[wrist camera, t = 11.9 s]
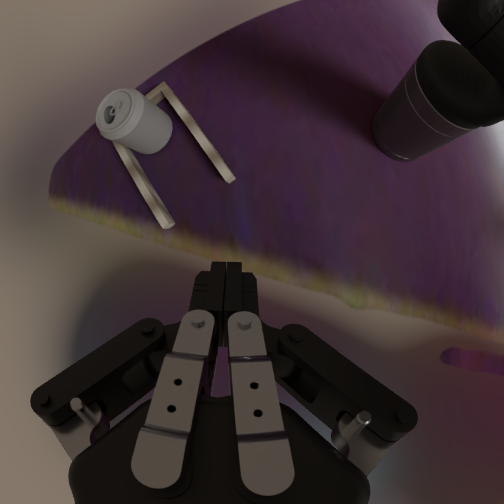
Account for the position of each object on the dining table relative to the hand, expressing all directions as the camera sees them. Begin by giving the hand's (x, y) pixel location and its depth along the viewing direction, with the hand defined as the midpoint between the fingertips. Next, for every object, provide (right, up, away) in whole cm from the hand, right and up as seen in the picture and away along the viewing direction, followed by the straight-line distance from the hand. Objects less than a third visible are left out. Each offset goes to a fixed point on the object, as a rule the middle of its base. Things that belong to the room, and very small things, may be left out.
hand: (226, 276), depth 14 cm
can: (-14, +20, +26) cm, 36 cm away
